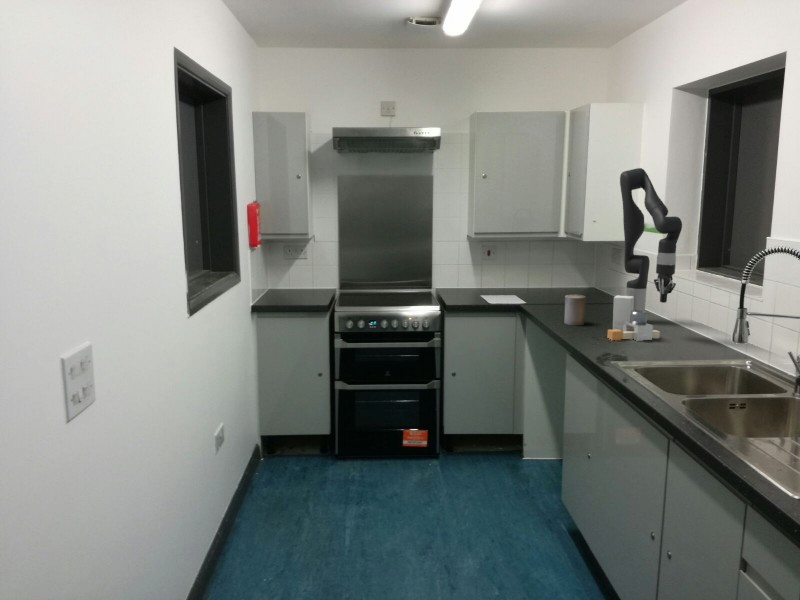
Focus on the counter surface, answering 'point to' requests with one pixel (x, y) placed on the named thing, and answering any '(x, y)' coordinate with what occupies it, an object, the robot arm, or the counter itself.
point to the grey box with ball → (638, 325)
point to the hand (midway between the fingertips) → (663, 302)
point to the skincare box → (622, 310)
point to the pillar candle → (575, 309)
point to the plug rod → (627, 334)
